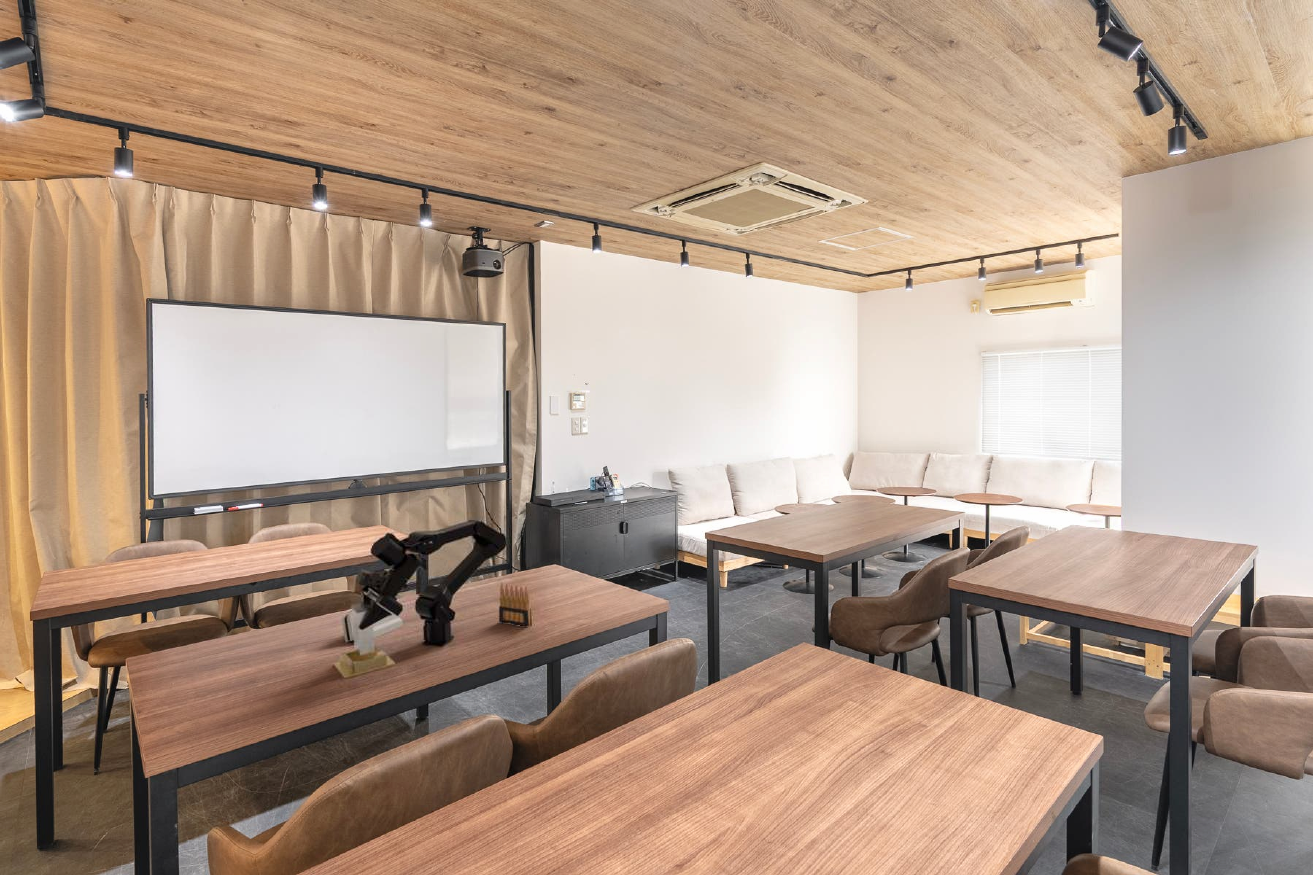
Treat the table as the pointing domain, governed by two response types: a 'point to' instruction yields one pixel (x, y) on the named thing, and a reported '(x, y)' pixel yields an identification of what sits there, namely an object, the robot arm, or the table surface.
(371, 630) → the bar
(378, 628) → the white rounded housing
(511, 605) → the ammunition clip
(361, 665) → the strike pocket
